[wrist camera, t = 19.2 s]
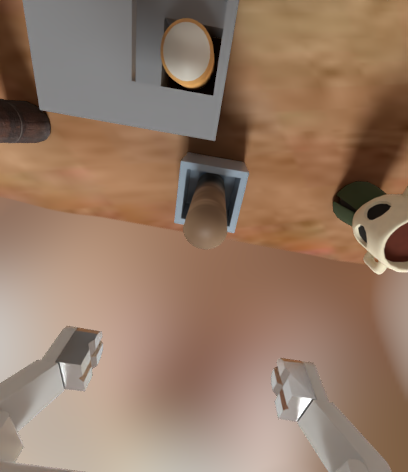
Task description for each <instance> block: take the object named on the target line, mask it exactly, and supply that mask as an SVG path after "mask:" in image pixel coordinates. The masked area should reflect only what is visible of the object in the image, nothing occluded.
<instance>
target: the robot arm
mask: <svg viewBox="0 0 408 472" xmlns="http://www.w3.org/2000/svg"><path fill="white" fill-rule="evenodd" d="M101 338H102V332H101V331H94V330H89V329H83V328H78V327H71V326H66V327H65V328H64V329H63V330H62V331H61V333H60V334H59V336H58V337H57V338H56V340H55V341H54V343H53V344H52V345H51V347H50V349H49V350H48V351H47V353H46V354H45V355H44V357H43V358H42V360H36V361H35V362H33V363H32V364H30V365H28V366H27V367H25V368H24V369H22V370H20V371H19V372H17V373H16V374H14V375H13V376H11V377H9V378H8V379H6V380H5V381H3V382H1V383H0V472H83V471H75V470H67V469H60V468H52V467H44V466H37V465H29V464H22V463H15V461H16V460H17V458H18V456H19V454H20V453H21V451H22V449H23V442H22V440H21V438H20V436H19V434H18V431H19V430H20V429H21V428H22V427H24V426H25V425H26V424H27V423H28V422H29V421H30V420H31V419H33V418H34V417H35V416H36V415H37V414H38V413H39V412H40V411H42V410H43V409H44V408H45V407H46V406H47V405H48V404H50V403H51V402H52V401H53V400H54V399H55V398H56V397H57V396H59V395H60V394H61V393H62V392H63V391H64V389H69V390H78V391H85V390H86V388H87V386H88V384H89V382H90V380H91V377H92V369H93V368H94V367H96V366H97V365H98V363H99V360H100V358H101V354H102V351H103V343H102V342H101V341H100V340H101ZM277 365H278V366H277V367H275V368H274V370H273V372H272V376H271V385H272V390H273V392H274V393H275V394H276V396H277V398H276V400H275V405H276V410H277V415H278V419H284V420H289V421H295V422H298V423H297V424H298V425H299V427H300V428H301V430H302V431H303V433H304V434H305V436H306V438H307V439H308V441H309V442H310V444H311V445H312V447H313V448H314V450H315V452H316V453H317V455H318V456H319V458H320V459H321V461H322V462H323V464H324V465H325V467H326V469H327V470H328V472H392V471H391V469H390V467H389V465H388V463H387V462H386V461H385V460H384V458H383V457H382V456H381V455H380V454H379V453H378V452H377V451H376V450H375V449H374V447H373V446H372V445H371V444H370V443H369V442H368V441H367V440H366V439H365V437H364V436H363V435H362V434H361V433H360V432H359V431H358V430H357V429H356V428H355V427H354V425H353V424H352V423H351V422H350V421H349V420H348V419H347V418H346V417H345V415H344V414H343V413H342V412H341V411H340V410H339V409H338V408H337V407H336V406H335V404H334V403H332V402H329V400H328V397H327V394H326V392H325V389H324V387H323V384H322V382H321V379H320V376H319V374H318V371H317V369H316V366H315V365H314V363H311V362H304V361H300V360H292V359H285V358H280V359H278V361H277Z"/></svg>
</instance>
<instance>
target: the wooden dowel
mask: <svg viewBox="0 0 408 472" xmlns="http://www.w3.org/2000/svg"><path fill="white" fill-rule="evenodd" d="M183 231H184V235H185V237H186V239H187V241H188V242H189V243H190V244H192V245H193V246H195V247H197V248H201V249H212V248H215V247H217V246H218V245H220V244H221V243H222V242H223V241H224V240H225V238H226V235H227V216H226V201H225V186H224V181H223V179H222V177H221V176H220V175H219V174H214V173H208V172H207V173H205V174H203V175H202V176H201V177H200V178H199V180H198V183H197V186H196V189H195V192H194V195H193V198H192V201H191V204H190V207H189V210H188V213H187V216H186V219H185V223H184V226H183Z"/></svg>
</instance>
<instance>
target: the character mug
mask: <svg viewBox="0 0 408 472" xmlns="http://www.w3.org/2000/svg"><path fill="white" fill-rule="evenodd" d="M337 196H338V197H340V198H341V200H340V203H339V204H338V203H337V202H335V201H334V202H333V211H334V213H335V214H336V216H337V217H338V218H339V219H340V220H342V221H343V222H345V223H347V224H348V225H350V226H352V228H353V234H354V236H355V238H356V239H357V241H358V242H359V243H360V244H361V245H362V246H363V247H364V248H365V249H366V250H368V251H367V253H366V254H365V256H364V259H363V260H364V262H365V263H366V264H367V265H368V266H369V267H370V268H371V269H372V271H374V272H375V273H377V274H382V273H383V272H384V271H385V270H386V268H387V267H388V268H390V269H392V270H394V271H397V272H408V186H407V188H406V189H405V191H404V193H403V194H386V193H385V192H384V191H382V190H381V189H380V188H378V187H377V186H375V185H373V184H371V183H369V182H357V181H356V182H354V183H351V184H349V185H346V186H345V187H344V188H343V189H342V190H340V191H339V192H338V193H337ZM374 257H376V258H377V259H378V260H379V262H378V263H376V262H375V261H374Z"/></svg>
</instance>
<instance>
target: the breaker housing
mask: <svg viewBox="0 0 408 472" xmlns="http://www.w3.org/2000/svg"><path fill="white" fill-rule="evenodd" d="M238 3H239V0H23V6H24V13H25V19H26V25H27V32H28V38H29V45H30V51H31V57H32V64H33V70H34V77H35V83H36V89H37V96H38V102H39V108H40V110H43V111H48V112H54V113H60V114H65V115H71V116H77V117H82V118H88V119H94V120H99V121H105V122H110V123H116V124H122V125H127V126H133V127H139V128H144V129H150V130H156V131H161V132H167V133H172V134H178V135H184V136H189V137H195V138H201V139H206V140H212V141H215V139H216V133H217V127H218V122H219V116H220V110H221V104H222V98H223V92H224V86H225V80H226V74H227V68H228V62H229V56H230V51H231V45H232V39H233V33H234V27H235V21H236V15H237V9H238ZM183 18H190V19H194V20H196V21H198V22H199V23H201V24H202V25H203V26H204V27H205V28H206V30H207V31H208V33H209V35H210V37H214V38H219V39H222V41H221V48H220V54H219V61H218V68H217V74H216V81H215V87H214V94H213V96H212V95H206V94H201V93H195V92H189V91H184V90H178V89H173V88H168V78H169V75H168V74H167V72H166V71H165V69H164V66H163V64H162V60H161V54H160V48H161V41H162V38H163V35H164V33H165V31H166V30H167V28H168V27H169V26H170V25H171V24H172V23H173V22H175V21H177V20H179V19H183Z"/></svg>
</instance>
